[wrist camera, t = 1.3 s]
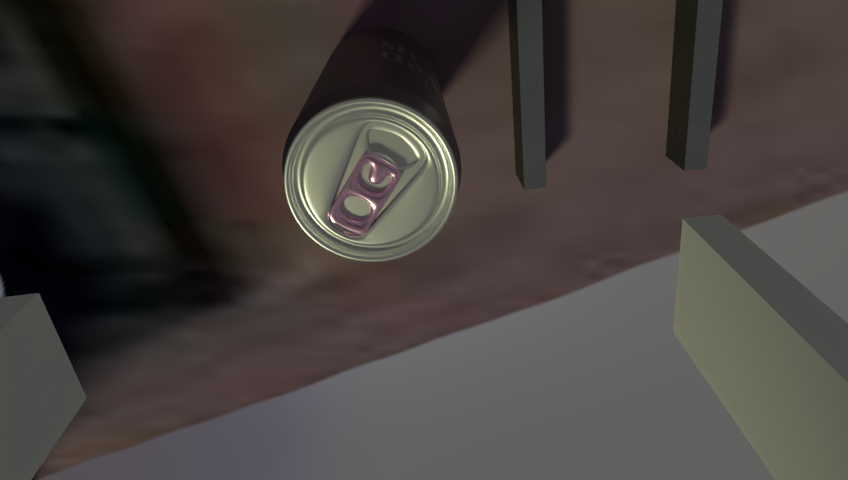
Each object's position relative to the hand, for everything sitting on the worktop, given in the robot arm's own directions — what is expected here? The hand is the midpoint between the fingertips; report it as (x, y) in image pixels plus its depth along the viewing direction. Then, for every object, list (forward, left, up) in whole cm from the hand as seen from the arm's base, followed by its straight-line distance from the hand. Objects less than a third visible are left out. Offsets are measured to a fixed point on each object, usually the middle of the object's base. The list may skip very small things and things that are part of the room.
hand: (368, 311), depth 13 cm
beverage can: (0, 0, -23) cm, 23 cm away
